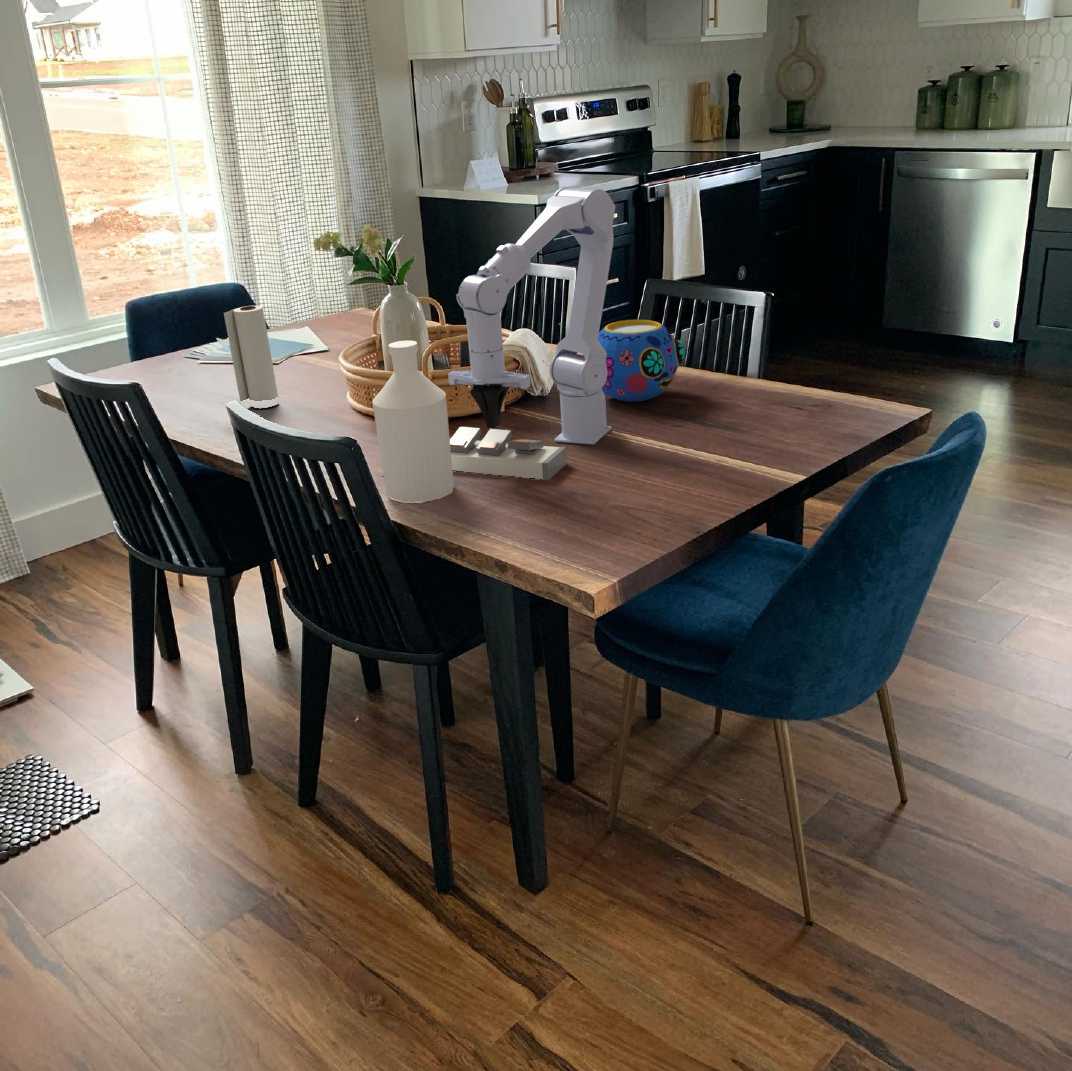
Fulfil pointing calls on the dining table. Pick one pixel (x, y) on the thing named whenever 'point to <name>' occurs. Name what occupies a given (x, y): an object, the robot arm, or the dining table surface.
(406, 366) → the bottle
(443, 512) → the dining table surface
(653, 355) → the ceramic pot
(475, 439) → the block
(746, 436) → the dining table surface
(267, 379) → the paper towel roll
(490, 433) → the rocker
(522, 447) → the rocker
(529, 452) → the power strip
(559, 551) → the dining table surface
